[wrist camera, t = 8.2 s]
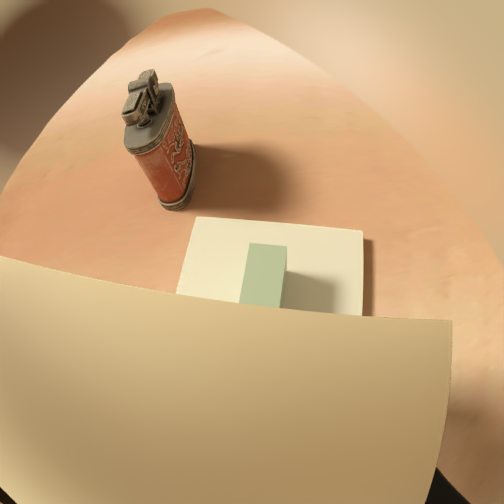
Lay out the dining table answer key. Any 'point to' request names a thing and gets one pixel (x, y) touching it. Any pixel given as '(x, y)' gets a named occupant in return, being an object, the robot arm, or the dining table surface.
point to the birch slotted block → (211, 398)
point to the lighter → (160, 140)
